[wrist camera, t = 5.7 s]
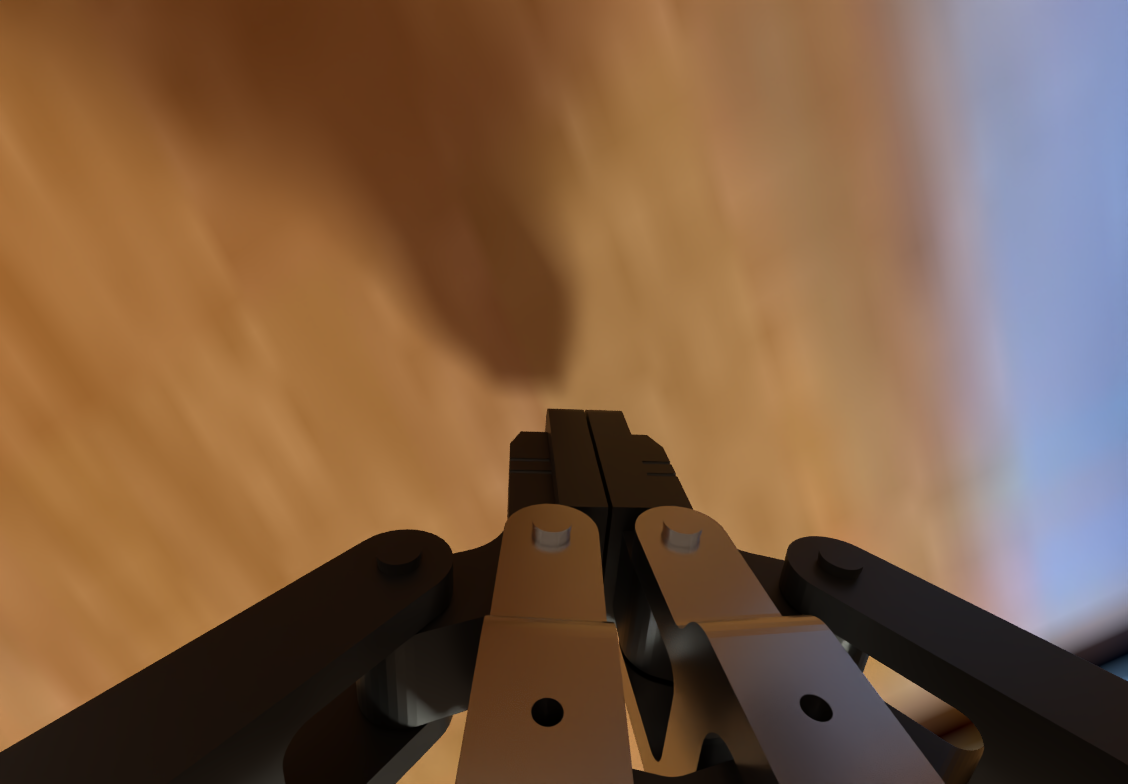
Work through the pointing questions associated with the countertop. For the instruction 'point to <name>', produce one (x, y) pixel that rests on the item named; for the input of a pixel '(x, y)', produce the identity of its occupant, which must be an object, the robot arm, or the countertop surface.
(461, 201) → the countertop surface
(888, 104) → the countertop surface
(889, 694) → the countertop surface
